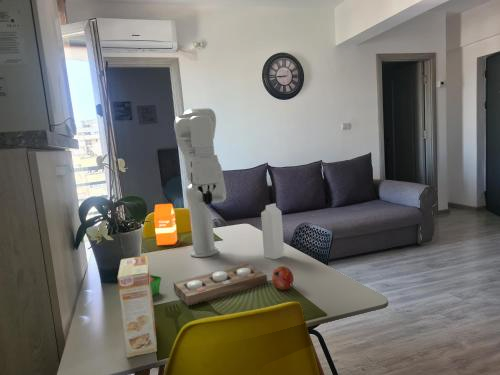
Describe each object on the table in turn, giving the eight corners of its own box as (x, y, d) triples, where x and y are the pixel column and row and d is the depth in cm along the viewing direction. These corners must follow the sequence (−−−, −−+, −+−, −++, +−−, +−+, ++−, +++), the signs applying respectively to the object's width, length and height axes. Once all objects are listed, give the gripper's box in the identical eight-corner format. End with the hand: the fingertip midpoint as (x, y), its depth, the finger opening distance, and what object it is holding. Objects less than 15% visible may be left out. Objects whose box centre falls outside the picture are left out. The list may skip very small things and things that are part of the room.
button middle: (210, 280, 121) (210, 273, 121) (223, 276, 124) (223, 270, 123) (216, 284, 117) (216, 277, 117) (229, 281, 119) (229, 274, 119)
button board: (174, 290, 120) (173, 281, 120) (247, 271, 133) (246, 263, 133) (188, 305, 108) (187, 295, 108) (267, 282, 121) (266, 273, 121)
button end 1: (185, 289, 117) (185, 282, 117) (199, 285, 119) (198, 279, 119) (190, 294, 113) (190, 287, 113) (204, 290, 115) (204, 283, 115)
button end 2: (234, 276, 126) (234, 270, 125) (246, 273, 128) (246, 266, 128) (241, 280, 122) (240, 273, 121) (253, 277, 124) (253, 270, 124)
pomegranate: (281, 289, 121) (260, 277, 116) (292, 270, 122) (272, 258, 117) (294, 298, 115) (273, 287, 110) (305, 278, 115) (285, 266, 110)
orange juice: (174, 244, 180) (170, 204, 177) (156, 245, 180) (152, 206, 177) (177, 239, 187) (173, 202, 185) (160, 241, 188) (156, 203, 185)
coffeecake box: (157, 351, 85) (148, 272, 82) (125, 358, 83) (115, 277, 80) (155, 322, 99) (148, 254, 97) (128, 328, 97) (120, 258, 95)
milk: (284, 256, 148) (281, 203, 145) (274, 260, 144) (271, 206, 141) (273, 253, 153) (270, 202, 150) (263, 257, 149) (260, 204, 146)
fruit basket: (137, 305, 111) (133, 270, 110) (118, 300, 116) (114, 267, 114) (164, 291, 120) (160, 259, 119) (146, 287, 125) (142, 256, 124)
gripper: (186, 153, 118) (191, 208, 120) (227, 150, 125) (231, 202, 127) (179, 153, 125) (184, 205, 127) (218, 150, 132) (222, 199, 134)
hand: (207, 203), depth 127 cm, fingers closed
